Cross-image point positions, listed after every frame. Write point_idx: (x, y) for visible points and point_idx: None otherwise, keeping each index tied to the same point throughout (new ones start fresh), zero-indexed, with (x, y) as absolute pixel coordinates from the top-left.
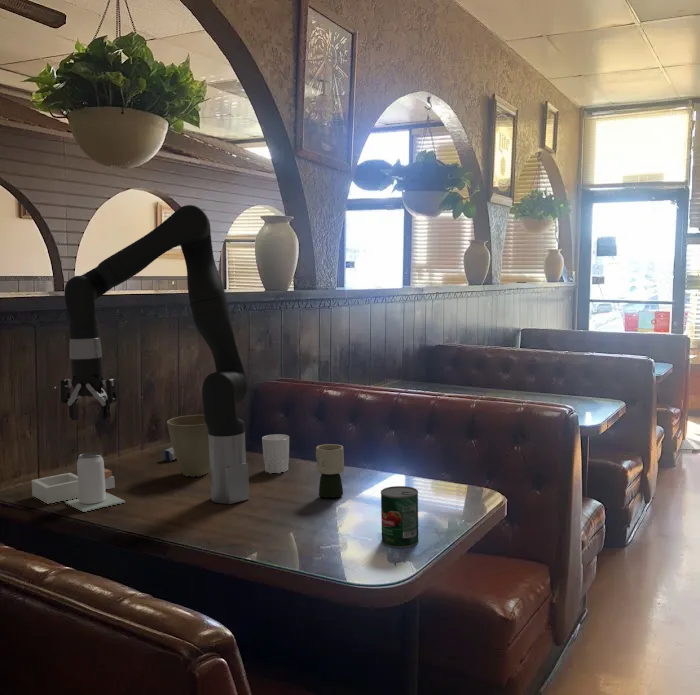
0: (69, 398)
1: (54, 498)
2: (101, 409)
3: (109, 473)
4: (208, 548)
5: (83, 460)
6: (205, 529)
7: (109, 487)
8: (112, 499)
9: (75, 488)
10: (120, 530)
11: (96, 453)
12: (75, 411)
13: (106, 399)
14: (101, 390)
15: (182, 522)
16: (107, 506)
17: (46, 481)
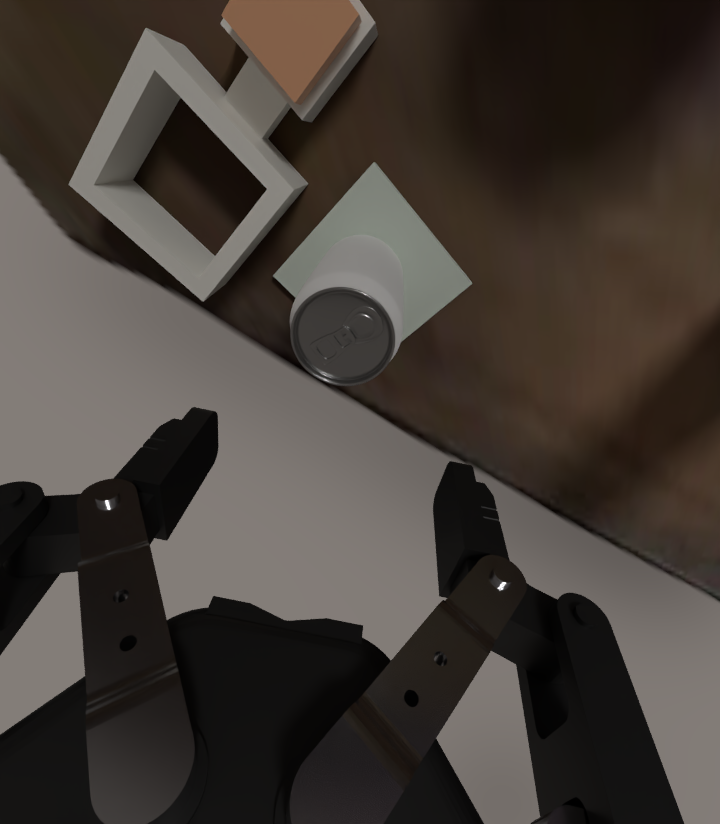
0: (44, 544)
1: (232, 273)
2: (438, 571)
3: (352, 29)
4: (674, 566)
5: (333, 378)
6: (691, 492)
7: (359, 59)
8: (424, 264)
9: (272, 221)
10: (495, 479)
11: (356, 292)
12: (190, 478)
13: (487, 612)
14: (434, 701)
15: (643, 449)
16: (423, 321)
17: (116, 156)
